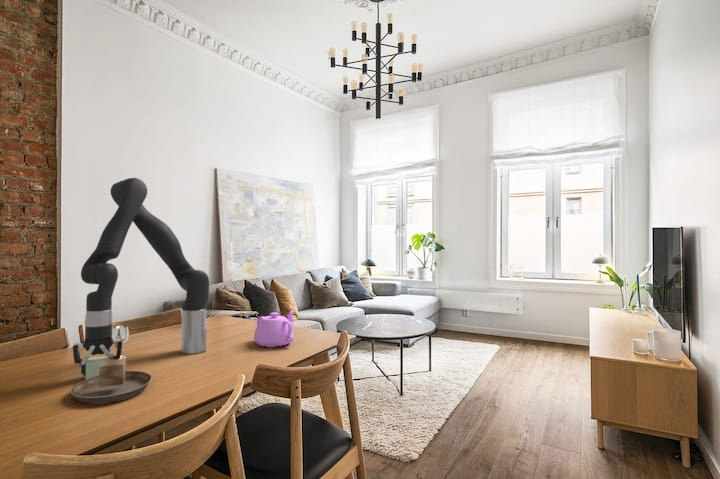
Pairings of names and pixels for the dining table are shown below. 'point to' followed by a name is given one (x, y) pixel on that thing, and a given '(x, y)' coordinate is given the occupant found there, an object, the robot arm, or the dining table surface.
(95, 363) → the green block
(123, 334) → the wineglass
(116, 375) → the walnut block
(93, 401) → the plant saucer
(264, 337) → the teapot
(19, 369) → the dining table surface
